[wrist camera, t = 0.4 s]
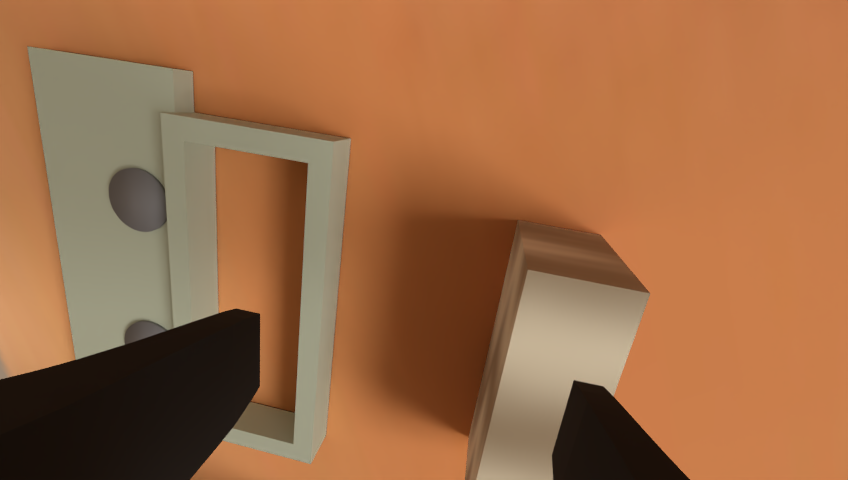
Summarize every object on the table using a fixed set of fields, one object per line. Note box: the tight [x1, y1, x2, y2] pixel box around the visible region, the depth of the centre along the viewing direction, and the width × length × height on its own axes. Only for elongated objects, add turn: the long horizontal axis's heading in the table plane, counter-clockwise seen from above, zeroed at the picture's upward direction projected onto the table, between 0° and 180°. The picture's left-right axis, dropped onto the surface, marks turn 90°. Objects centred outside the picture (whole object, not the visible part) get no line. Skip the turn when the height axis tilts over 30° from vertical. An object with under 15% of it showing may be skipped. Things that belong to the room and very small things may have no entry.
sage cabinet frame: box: [27, 46, 351, 464], centre depth 20 cm, size 20×14×2 cm
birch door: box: [465, 220, 650, 480], centre depth 17 cm, size 12×4×6 cm, turn 172°
